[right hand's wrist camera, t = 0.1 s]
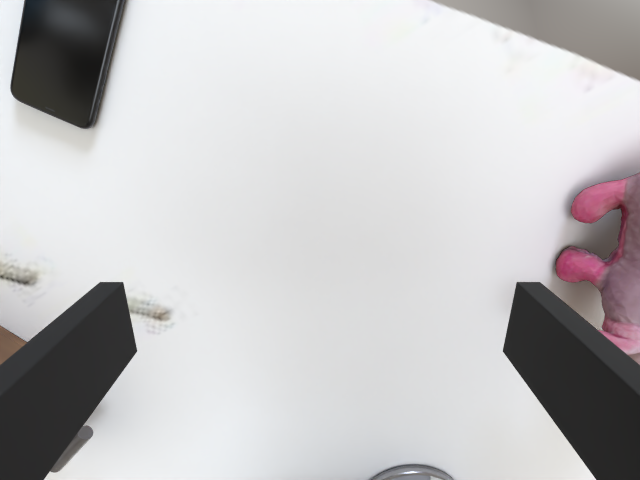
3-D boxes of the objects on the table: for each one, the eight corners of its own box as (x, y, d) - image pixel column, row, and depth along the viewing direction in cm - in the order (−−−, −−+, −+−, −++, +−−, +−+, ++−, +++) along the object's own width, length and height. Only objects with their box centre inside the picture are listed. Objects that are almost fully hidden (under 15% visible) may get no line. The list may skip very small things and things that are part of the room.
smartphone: (45, -90, 31) (13, 97, 36) (37, -95, 30) (6, 96, 35) (137, -43, 32) (95, 132, 37) (133, -46, 32) (89, 133, 37)
